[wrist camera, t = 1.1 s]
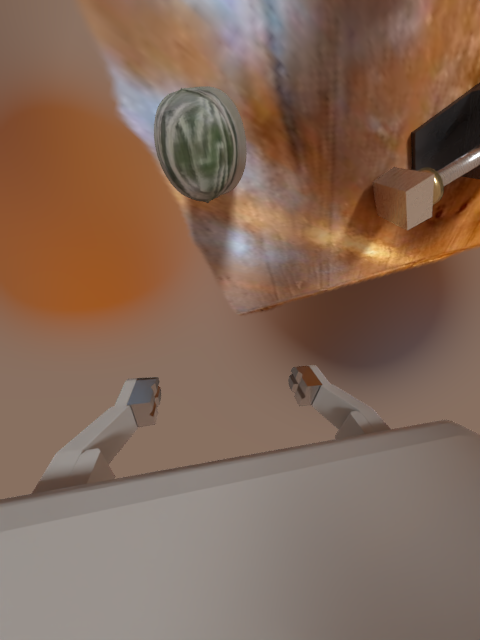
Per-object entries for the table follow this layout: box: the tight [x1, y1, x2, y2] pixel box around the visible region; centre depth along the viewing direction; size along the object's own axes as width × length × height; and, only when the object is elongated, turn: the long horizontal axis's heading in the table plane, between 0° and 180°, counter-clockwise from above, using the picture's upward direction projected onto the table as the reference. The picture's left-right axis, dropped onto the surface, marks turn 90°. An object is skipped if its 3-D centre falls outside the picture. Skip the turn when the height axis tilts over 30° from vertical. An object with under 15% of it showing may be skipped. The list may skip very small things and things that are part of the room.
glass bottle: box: [154, 87, 246, 203], centre depth 24 cm, size 10×10×28 cm
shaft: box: [372, 145, 480, 230], centre depth 32 cm, size 22×8×10 cm, turn 127°
